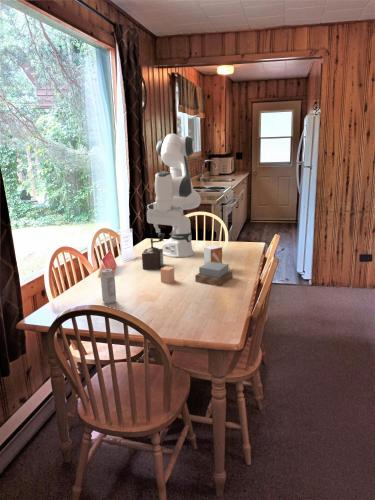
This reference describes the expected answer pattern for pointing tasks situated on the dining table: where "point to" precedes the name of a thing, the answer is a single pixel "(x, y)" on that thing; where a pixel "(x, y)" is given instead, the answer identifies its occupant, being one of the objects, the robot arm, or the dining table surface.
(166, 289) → the dining table surface
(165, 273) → the pillar block
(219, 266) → the grey square slab
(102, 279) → the energy drink can
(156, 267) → the pepper mill
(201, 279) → the tower base
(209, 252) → the small box
